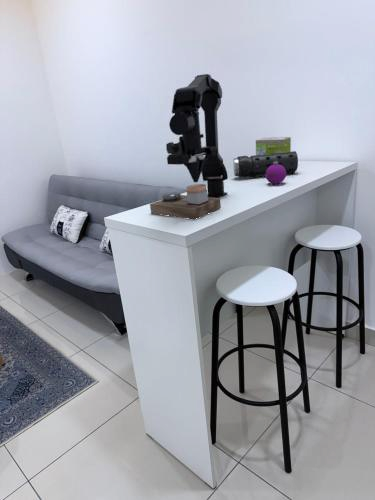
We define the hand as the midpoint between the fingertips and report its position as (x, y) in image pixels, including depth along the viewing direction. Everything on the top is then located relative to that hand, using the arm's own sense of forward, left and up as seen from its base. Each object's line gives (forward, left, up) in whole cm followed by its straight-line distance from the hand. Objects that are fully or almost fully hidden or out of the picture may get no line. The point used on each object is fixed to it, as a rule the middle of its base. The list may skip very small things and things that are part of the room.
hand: (195, 182), depth 115 cm
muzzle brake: (-60, -9, -11) cm, 62 cm away
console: (0, -6, -10) cm, 12 cm away
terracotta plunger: (0, 0, -7) cm, 7 cm away
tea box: (-81, -16, -11) cm, 83 cm away
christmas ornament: (-46, +4, -11) cm, 47 cm away
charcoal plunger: (0, -12, -10) cm, 16 cm away
